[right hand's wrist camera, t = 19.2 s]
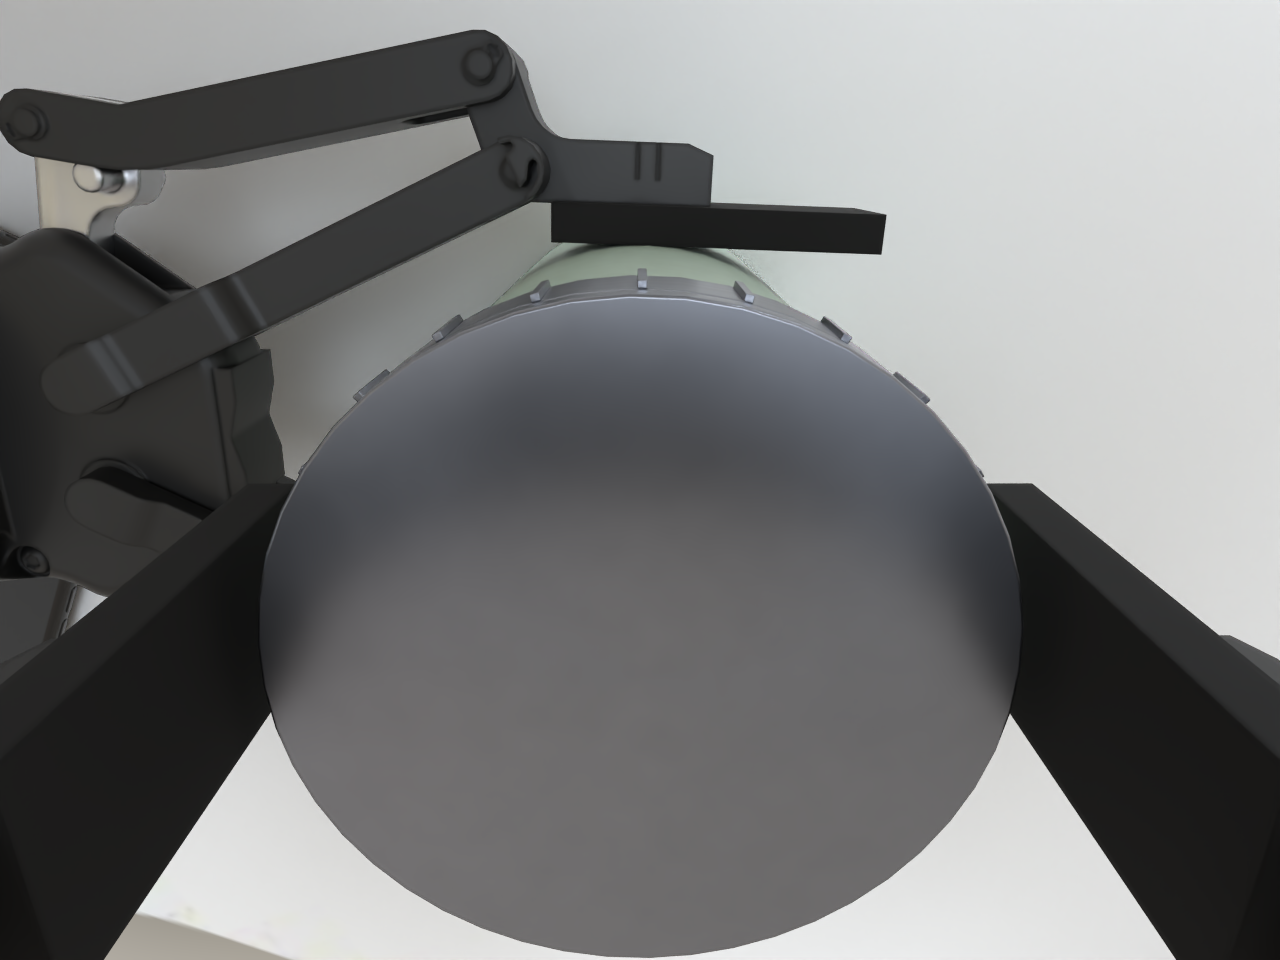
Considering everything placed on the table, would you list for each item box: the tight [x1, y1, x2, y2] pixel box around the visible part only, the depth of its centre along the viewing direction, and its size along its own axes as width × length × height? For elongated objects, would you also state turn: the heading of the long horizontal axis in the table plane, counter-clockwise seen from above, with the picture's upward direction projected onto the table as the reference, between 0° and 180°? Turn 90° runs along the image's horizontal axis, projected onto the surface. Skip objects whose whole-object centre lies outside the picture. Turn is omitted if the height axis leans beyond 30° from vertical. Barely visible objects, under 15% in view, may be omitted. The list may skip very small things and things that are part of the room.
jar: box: [492, 243, 790, 307], centre depth 18 cm, size 9×9×16 cm
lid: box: [258, 268, 1023, 958], centre depth 11 cm, size 9×9×2 cm
